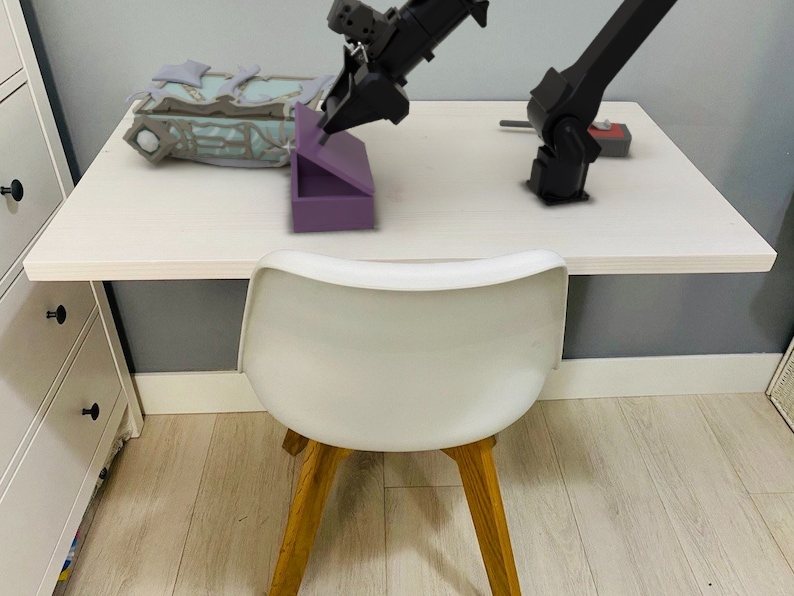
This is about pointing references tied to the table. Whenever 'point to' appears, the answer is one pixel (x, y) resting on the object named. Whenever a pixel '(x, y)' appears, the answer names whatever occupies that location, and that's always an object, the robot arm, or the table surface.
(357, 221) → the box
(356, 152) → the lid
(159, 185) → the table surface
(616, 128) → the walkie-talkie
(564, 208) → the table surface
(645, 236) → the table surface
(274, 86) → the ornate book
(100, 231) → the table surface
